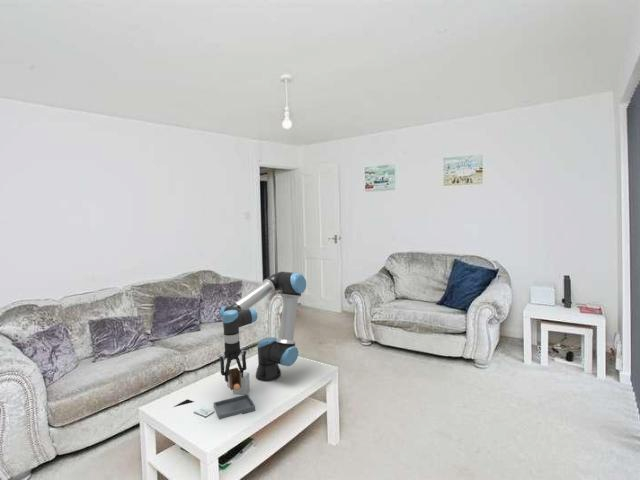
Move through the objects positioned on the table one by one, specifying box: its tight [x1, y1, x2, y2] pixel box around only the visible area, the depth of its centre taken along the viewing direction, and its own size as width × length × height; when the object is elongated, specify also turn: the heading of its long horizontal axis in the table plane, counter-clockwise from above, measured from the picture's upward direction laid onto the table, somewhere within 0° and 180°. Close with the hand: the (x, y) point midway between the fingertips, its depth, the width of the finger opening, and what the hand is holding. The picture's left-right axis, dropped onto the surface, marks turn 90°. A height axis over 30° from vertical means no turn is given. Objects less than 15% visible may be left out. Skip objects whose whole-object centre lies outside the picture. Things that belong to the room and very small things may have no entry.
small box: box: [232, 371, 251, 396], centre depth 204 cm, size 8×6×10 cm
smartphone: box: [173, 399, 195, 408], centre depth 188 cm, size 8×17×1 cm, turn 149°
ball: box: [234, 384, 240, 390], centre depth 182 cm, size 3×3×3 cm
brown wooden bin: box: [228, 367, 241, 391], centre depth 185 cm, size 5×6×8 cm
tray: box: [213, 393, 257, 420], centre depth 186 cm, size 18×14×2 cm
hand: (234, 385), depth 186 cm, fingers closed on brown wooden bin, 5 cm apart
